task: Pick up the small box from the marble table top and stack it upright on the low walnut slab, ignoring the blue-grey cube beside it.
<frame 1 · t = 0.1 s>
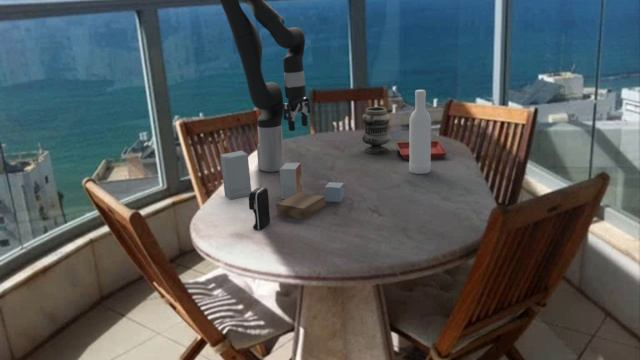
hand: (298, 128, 224), 17 cm above the table, tool pointing down, fingers open, 8 cm apart
blue-grey cube: (335, 199, 199), on the table
bottle: (419, 171, 225), on the table
apothecary jar: (376, 151, 255), on the table
plant saucer: (420, 155, 247), on the table
skincare box: (237, 196, 207), on the table
small box: (292, 196, 205), on the table
walnut slab: (301, 211, 190), on the table
battery charger: (260, 226, 179), on the table
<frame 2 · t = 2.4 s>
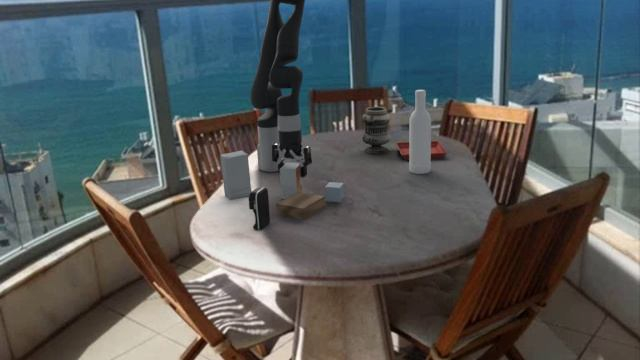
hand: (292, 175, 202), 7 cm above the table, tool pointing down, fingers open, 8 cm apart
nothing on the table moved.
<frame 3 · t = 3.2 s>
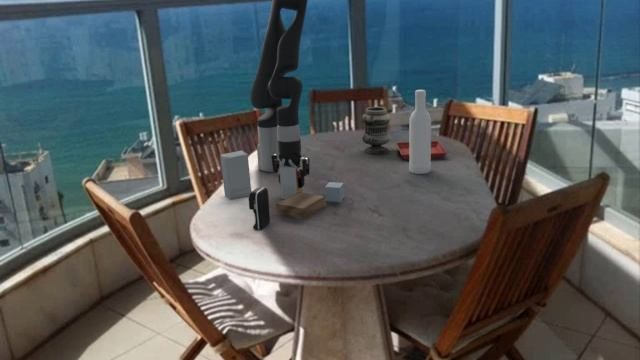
hand: (291, 185, 203), 3 cm above the table, tool pointing down, fingers closed on small box, 6 cm apart
small box: (292, 195, 204), on the table, touching gripper
everything else where it was.
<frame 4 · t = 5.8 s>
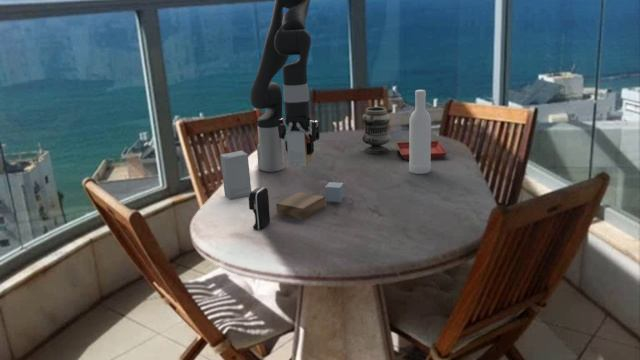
hand: (300, 153, 185), 19 cm above the table, tool pointing down, fingers closed on small box, 6 cm apart
small box: (300, 164, 186), point 15 cm above the table, touching gripper
everything else where it was.
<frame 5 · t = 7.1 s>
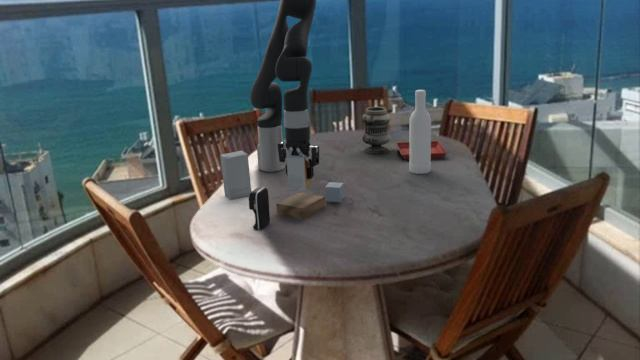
hand: (299, 177, 187), 11 cm above the table, tool pointing down, fingers closed on small box, 6 cm apart
small box: (300, 188, 188), point 7 cm above the table, touching gripper
everything else where it was.
when the fingers open (8 cm above the table, at t = 8.2 s): small box drops 1 cm, resting on walnut slab.
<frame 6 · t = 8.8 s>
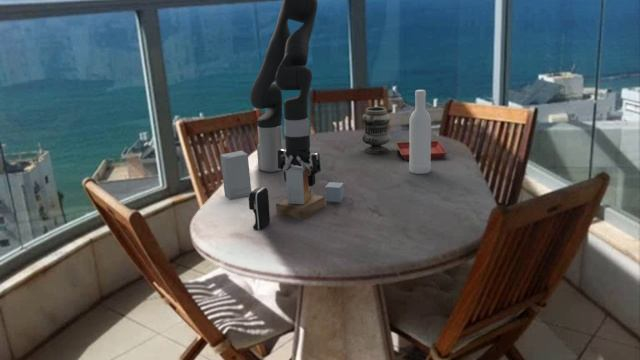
hand: (299, 184, 187), 9 cm above the table, tool pointing down, fingers open, 8 cm apart
small box: (299, 200, 189), point 3 cm above the table, touching walnut slab
walnut slab: (301, 212, 190), on the table, touching small box
everything else where it was.
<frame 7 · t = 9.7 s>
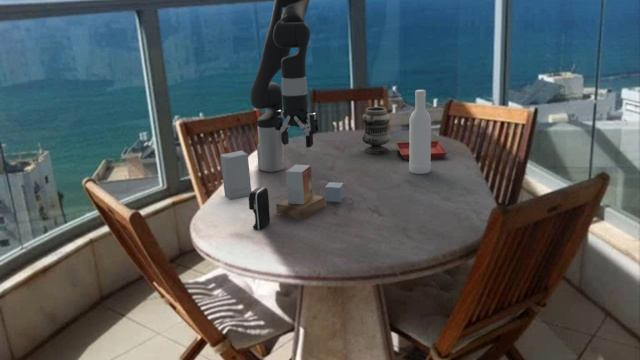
hand: (297, 145, 184), 21 cm above the table, tool pointing down, fingers open, 8 cm apart
nothing on the table moved.
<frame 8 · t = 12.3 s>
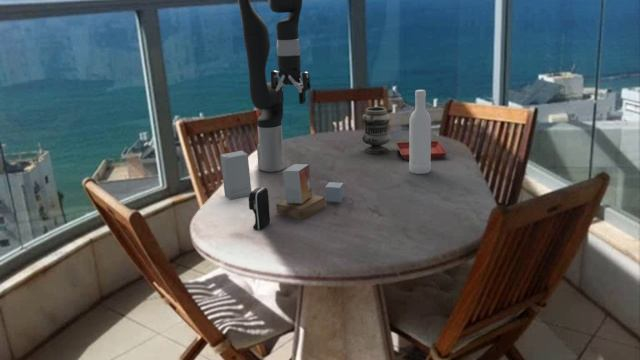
hand: (291, 102, 202), 30 cm above the table, tool pointing down, fingers open, 8 cm apart
at the end: small box inside the target area on the walnut slab (0.4 cm from its centre), point 4.0 cm above the walnut slab's base; small box tilted 4°; the gripper is holding nothing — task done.
